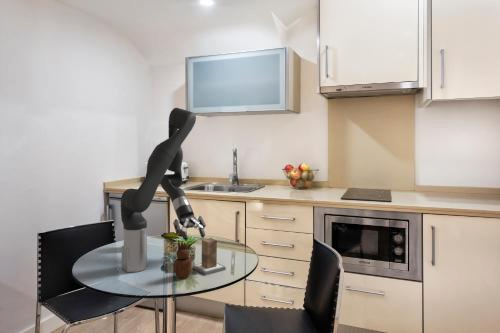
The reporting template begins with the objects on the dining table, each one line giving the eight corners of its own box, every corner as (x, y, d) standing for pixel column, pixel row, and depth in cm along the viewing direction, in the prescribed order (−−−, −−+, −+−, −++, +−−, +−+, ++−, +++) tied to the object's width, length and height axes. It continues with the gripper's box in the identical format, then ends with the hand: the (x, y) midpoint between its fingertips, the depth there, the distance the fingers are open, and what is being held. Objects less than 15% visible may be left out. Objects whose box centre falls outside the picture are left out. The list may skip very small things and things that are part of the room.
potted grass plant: (174, 280, 132) (174, 242, 131) (173, 274, 138) (173, 238, 137) (192, 279, 134) (192, 241, 133) (190, 273, 140) (190, 237, 139)
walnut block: (207, 268, 142) (207, 242, 141) (201, 265, 145) (201, 239, 145) (216, 266, 145) (216, 240, 144) (210, 263, 148) (210, 238, 148)
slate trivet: (205, 275, 138) (205, 272, 138) (192, 268, 146) (192, 265, 146) (225, 269, 145) (225, 266, 145) (212, 263, 152) (212, 260, 152)
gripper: (171, 205, 154) (184, 236, 146) (199, 202, 163) (212, 231, 155) (166, 215, 159) (177, 245, 151) (193, 211, 168) (205, 240, 160)
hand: (195, 238), depth 153 cm, fingers open, 8 cm apart
